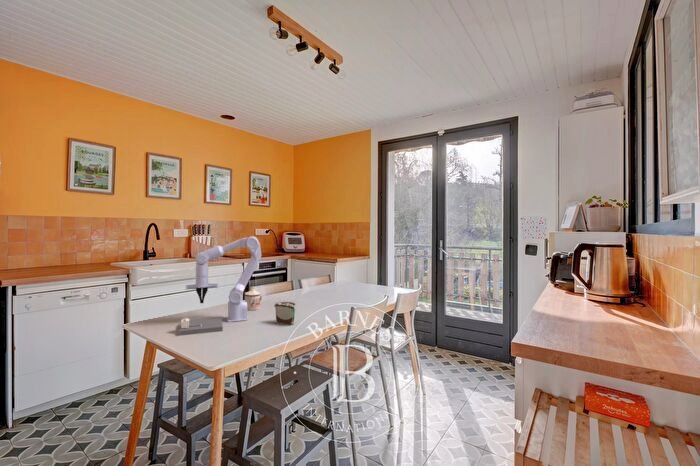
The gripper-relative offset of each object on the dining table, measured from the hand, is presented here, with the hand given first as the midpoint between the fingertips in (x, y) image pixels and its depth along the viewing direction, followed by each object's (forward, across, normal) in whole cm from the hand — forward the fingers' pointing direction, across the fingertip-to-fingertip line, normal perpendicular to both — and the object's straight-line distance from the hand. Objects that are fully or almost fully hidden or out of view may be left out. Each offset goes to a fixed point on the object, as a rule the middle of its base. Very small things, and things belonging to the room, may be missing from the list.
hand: (201, 302), depth 167 cm
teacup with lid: (+10, +28, +18) cm, 35 cm away
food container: (+10, +40, -16) cm, 44 cm away
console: (+9, 0, -11) cm, 14 cm away
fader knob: (+7, -7, -14) cm, 17 cm away
